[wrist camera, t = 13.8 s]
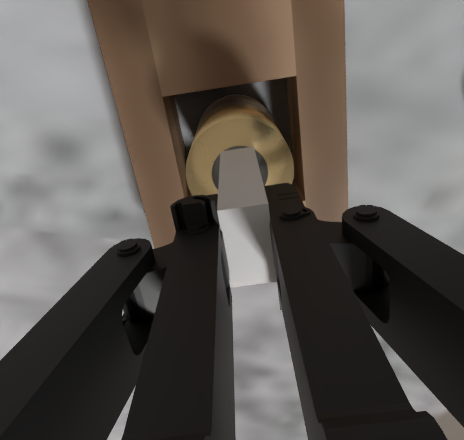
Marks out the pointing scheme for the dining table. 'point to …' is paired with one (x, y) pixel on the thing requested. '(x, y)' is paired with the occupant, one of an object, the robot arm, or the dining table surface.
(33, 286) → the dining table surface
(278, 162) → the bushing
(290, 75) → the block
